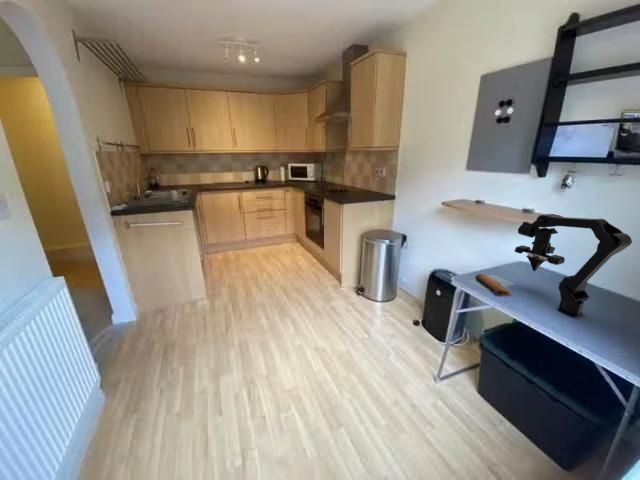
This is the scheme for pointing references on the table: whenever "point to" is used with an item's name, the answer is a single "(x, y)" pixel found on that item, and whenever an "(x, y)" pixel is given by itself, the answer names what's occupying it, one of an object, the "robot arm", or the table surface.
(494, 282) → the sunglasses case
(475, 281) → the mat
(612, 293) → the table surface
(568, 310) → the robot arm
